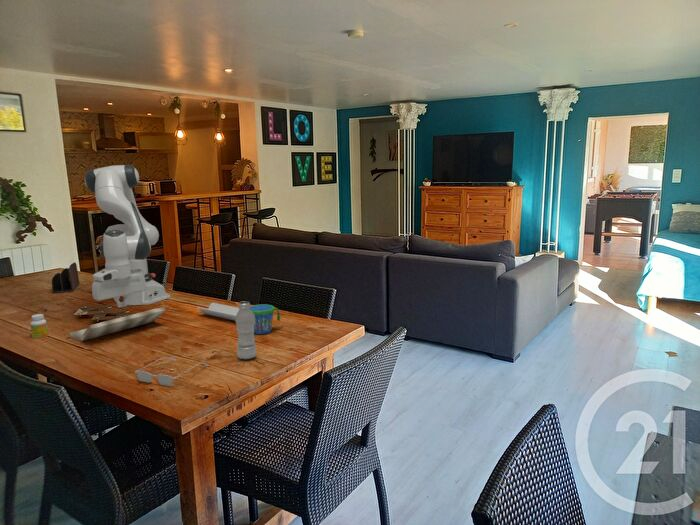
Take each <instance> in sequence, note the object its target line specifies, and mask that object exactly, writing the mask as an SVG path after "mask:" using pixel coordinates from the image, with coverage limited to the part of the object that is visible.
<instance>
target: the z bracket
mask: <svg viewBox="0 0 700 525" xmlns="http://www.w3.org/2000/svg"><path fill="white" fill-rule="evenodd" d="M196 309H198V310H199V311H200V312H201V313H203V314H204V315H208V316H211V317H215V318H216V317H217V318H221V319H227V320H229V321H234V322H236V320H235V318H236V315H237V313H238V311H239V308H238V306H237V307H236V306H231V305H227V304H221V303H216V302H211V303H210V305H209V306H208V308H203V307H199V306H196Z"/></svg>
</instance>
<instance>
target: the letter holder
mask: <svg viewBox="0 0 700 525" xmlns="http://www.w3.org/2000/svg"><path fill="white" fill-rule="evenodd" d="M79 279H80V277H79V271H78V266H77V262H73V263H71V264H70V265H69V267H65V268H64V269H63V270H62V271H61V272H58V273H56V274H54V275H53V277H52V278H51V287H52V288H51V289H52V294H53V293H54V294H64V293H73V292H74V291H75V290H76V289H77V288H78V286H80V280H79Z"/></svg>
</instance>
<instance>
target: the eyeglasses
mask: <svg viewBox="0 0 700 525" xmlns="http://www.w3.org/2000/svg"><path fill="white" fill-rule="evenodd" d="M164 359H168V360H171V361H172V362H177V361H178V360H177V359H175V358H172V357H161V358H159V359H157V360H155V361H153V362H151V363H149V364H147V365H146V366H144V367H142V368H140V369H137V370H135V371H134V374H136V377H137V378H138V380H139V381H140V382H144V383H149V384H150V383H151V382H152V380H153V379H154V377H156V379H157V382H158V383H159V385H161V386H167V387H171V386H172V385H173V381H174V380H176V379H178V378H179V377H180V376H181V375H184V374H185V373H186V372H188V371H190V370H191V369H193V368H195V367H196V366H198V365H199V364H202V365H204V366H205V367H208V366H209V363H207V362H199V363H197V364H195V365H194V366H192V367H191V368H189V369H188V370H185V371H184V372H182V373H181V374H178V375H176V376H175V377H172V376H171V375H167V374H152V373H150V372H147V371H143V369H144V368H146V367H149V366H150V365H151V364H153V363H156V362H157V361H158V362H159V361H160V360H164Z"/></svg>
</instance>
